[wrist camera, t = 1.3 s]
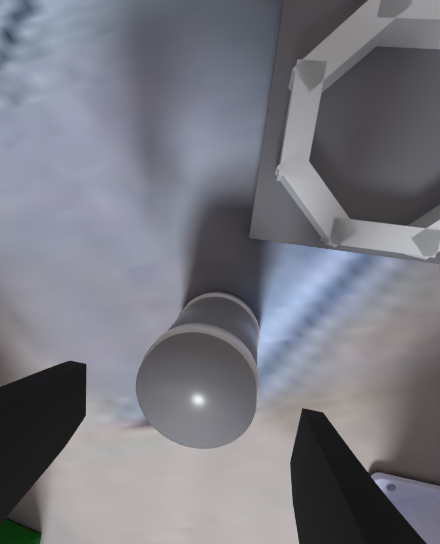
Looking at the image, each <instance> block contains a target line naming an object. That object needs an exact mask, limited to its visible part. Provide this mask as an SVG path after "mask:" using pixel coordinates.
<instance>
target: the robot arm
mask: <svg viewBox="0 0 440 544" xmlns="http://www.w3.org/2000/svg"><path fill="white" fill-rule="evenodd" d="M85 416H86V364H83V363H79V362H74V361H68V362H64V363H61V364H59V365H56V366H53V367H50V368H48V369H45V370H43V371H40V372H38V373H35V374H32V375H30V376H27V377H25V378H22V379H20V380H17V381H15V382H12V383H10V384H7V385H5V386H2V387H0V524H1V522H2V521H3V520H4V519H5V518H6V516H7V515H8V514H9V513H10V512H11V511H12V509H13V508H14V507H15V506H16V505H17V503H18V502H19V501H20V500H21V499H22V498H23V496H24V495H25V494H26V493H27V492H28V490H29V489H30V488H31V487H32V486H33V484H34V483H35V482H36V481H37V480H38V479H39V477H40V476H41V475H42V474H43V473H44V471H45V470H46V469H47V468H48V467H49V465H50V464H51V463H52V462H53V461H54V459H55V458H56V457H57V456H58V455H59V453H60V452H61V451H62V450H63V448H64V447H65V446H66V444H67V443H68V441H69V440H70V439H71V437H72V436H73V434H74V433H75V431H76V430H77V428H78V427H79V425H80V424H81V422H82V421H83V419H84V417H85ZM290 465H291V482H292V496H293V506H294V513H295V519H296V525H297V532H298V538H299V544H440V486H437V485H433V484H428V483H424V482H420V481H415V480H411V479H406V478H402V477H398V476H393V475H389V474H384V473H378V472H377V473H374V474H372V475H371V476H370V475H369V473H368V472H367V471H366V470H365V468H364V467H363V466H362V464H361V463H360V462H359V460H358V459H357V458H356V457H355V455H354V454H353V453H352V451H351V450H350V449H349V447H348V446H347V444H346V443H345V442H344V440H343V439H342V438H341V436H340V435H339V434H338V432H337V431H336V430H335V428H334V427H333V425H332V424H331V423H330V421H329V420H328V419H327V417H326V416H325V415H324V413H323V412H318V411H313V410H308V409H303V408H302V412H301V417H300V421H299V426H298V430H297V435H296V439H295V444H294V448H293V453H292V457H291V462H290ZM388 484H389V485H388Z"/></svg>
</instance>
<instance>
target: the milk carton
mask: <svg viewBox="0 0 440 544" xmlns="http://www.w3.org/2000/svg"><path fill="white" fill-rule="evenodd" d="M40 537H41V534H39V533H37V532H35V531H32V530H30V529H28V528H25V527H23V526H21V525H19V524H16V523H14V522H12V521H10V520H7V519H4V520H3V521H2V522H1V524H0V544H39V543H40Z"/></svg>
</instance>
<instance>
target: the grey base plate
mask: <svg viewBox="0 0 440 544" xmlns="http://www.w3.org/2000/svg"><path fill="white" fill-rule="evenodd" d="M249 238H252V239H259V240H267V241H274V242H281V243H289V244H296V245H304V246H311V247H318V248H326V249H333V250H341V251H348V252H355V253H363V254H370V255H378V256H385V257H393V258H400V259H407V260H415V261H422V262H430V263H437V264H440V0H284V2H283V9H282V16H281V23H280V29H279V36H278V43H277V50H276V57H275V64H274V70H273V77H272V84H271V91H270V98H269V104H268V111H267V118H266V125H265V132H264V139H263V145H262V152H261V159H260V166H259V173H258V179H257V186H256V193H255V200H254V207H253V213H252V220H251V227H250V234H249Z"/></svg>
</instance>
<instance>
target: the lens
mask: <svg viewBox="0 0 440 544" xmlns="http://www.w3.org/2000/svg"><path fill="white" fill-rule="evenodd" d="M258 344H259V326H258V322H257V319H256V317H255V315H254V313H253V311H252V310H251V308H250V307H249V306H248V304H247V303H246V302H244V301H243V300H242V299H241V298H239V297H238V296H236V295H234V294H231V293H227V292H222V291H213V292H208V293H205V294H202V295H200V296H198V297H196V298H194V299H193V300H191V301H190V302H189V303H188V304H187V305H186V306H185V308H184V309H183V310H182V312H181V313H180V315H179V317H178V319H177V320H176V321H175V323H174V324H173V325H172V326H171V327H170V329H169V330H168V331H167V332H165V333H164V334H163V335H162V336H160V337H159V338H158V340H157V341H156V342H155V343H154V344H153V345H152V346H151V348H150V349H149V350H148V352H147V353H146V355H145V357H144V359H143V361H142V364H141V366H140V368H139V371H138V374H137V379H136V394H137V399H138V403H139V406H140V408H141V410H142V412H143V414H144V416H145V417H146V419H147V420H148V421H149V423H150V424H151V425H152V426H153V427H154V428H155V429H156V430H157V431H158V432H159V433H161V434H162V435H163V436H165V437H166V438H168V439H170V440H171V441H173V442H176V443H178V444H180V445H184V446H187V447H192V448H200V449H208V448H216V447H220V446H223V445H226V444H228V443H231V442H232V441H234V440H236V439H237V438H238V437H240V436H241V435H242V434H243V433H244V432H245V431H246V430H247V428H248V427H249V425H250V424H251V422H252V420H253V417H254V414H255V411H256V408H257V405H258V401H259V393H260V390H259V372H258V368H257V348H258Z"/></svg>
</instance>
